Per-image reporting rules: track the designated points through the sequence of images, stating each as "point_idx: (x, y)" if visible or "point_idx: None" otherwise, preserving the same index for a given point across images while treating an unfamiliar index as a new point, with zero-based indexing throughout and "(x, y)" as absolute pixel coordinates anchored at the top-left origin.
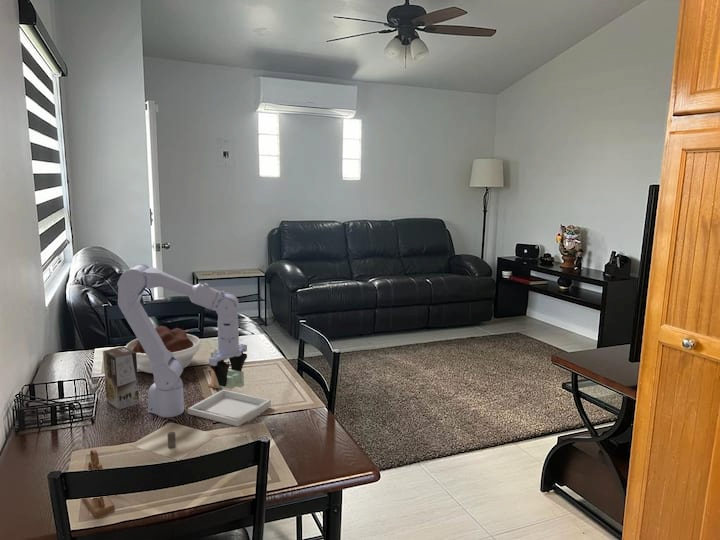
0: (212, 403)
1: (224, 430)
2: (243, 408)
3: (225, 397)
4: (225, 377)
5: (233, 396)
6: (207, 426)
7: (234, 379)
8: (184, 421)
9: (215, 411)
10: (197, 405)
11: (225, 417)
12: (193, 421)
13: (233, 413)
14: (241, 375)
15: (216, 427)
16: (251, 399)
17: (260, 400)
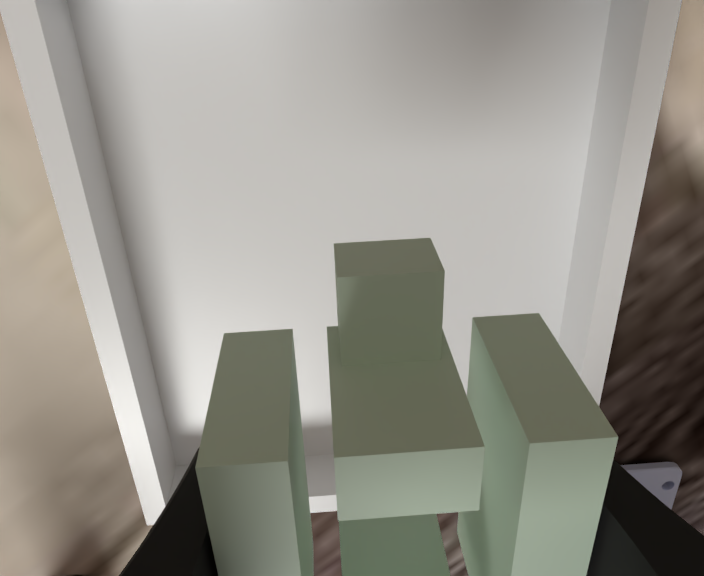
0: (322, 450)
1: (684, 56)
2: (255, 191)
3: (178, 448)
4: (667, 519)
5: (151, 401)
6: (652, 236)
7: (463, 414)
8: (625, 415)
9: None
10: None
11: (645, 128)
12: (606, 371)
13: (391, 199)
14: (275, 423)
15: (649, 161)
16: (102, 219)
17: (68, 101)
